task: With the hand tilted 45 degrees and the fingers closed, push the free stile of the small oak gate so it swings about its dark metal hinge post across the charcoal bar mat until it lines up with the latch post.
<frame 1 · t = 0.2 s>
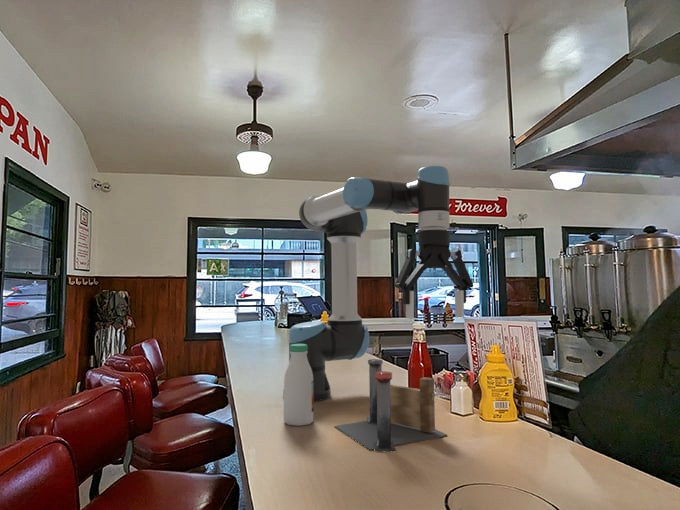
hand: (435, 317, 109), 28 cm above the countertop, tool pointing down, fingers open, 13 cm apart
gate: (407, 400, 112), point 7 cm above the countertop, hinge at 50.0°
bar mat: (389, 431, 110), on the countertop
hinge post: (375, 421, 117), resting on bar mat
milk bottle: (298, 422, 118), on the countertop
latch post: (384, 447, 99), resting on bar mat
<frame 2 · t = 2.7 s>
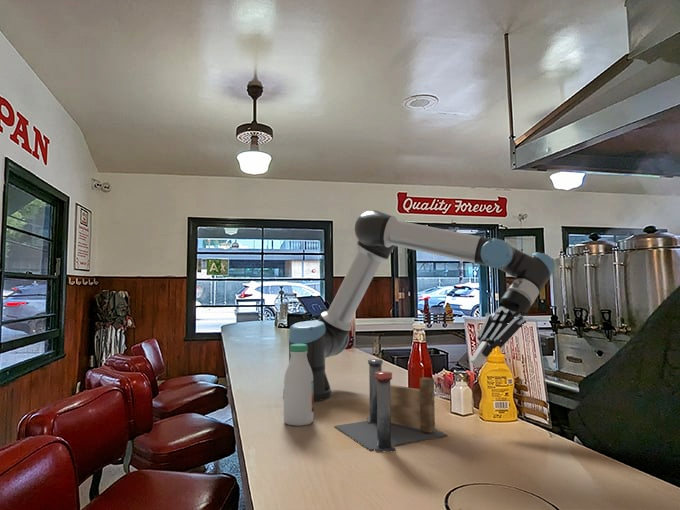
hand: (474, 363, 117), 15 cm above the countertop, tool tilted 45°, fingers closed
nothing on the countertop moved.
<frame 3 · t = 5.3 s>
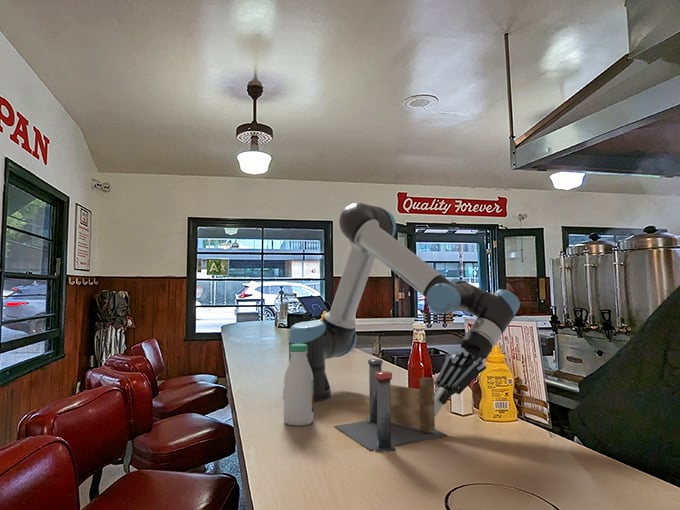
hand: (430, 412, 111), 4 cm above the countertop, tool tilted 45°, fingers closed
gate: (406, 400, 112), point 7 cm above the countertop, hinge at 49.7°, touching gripper
everything else where it was.
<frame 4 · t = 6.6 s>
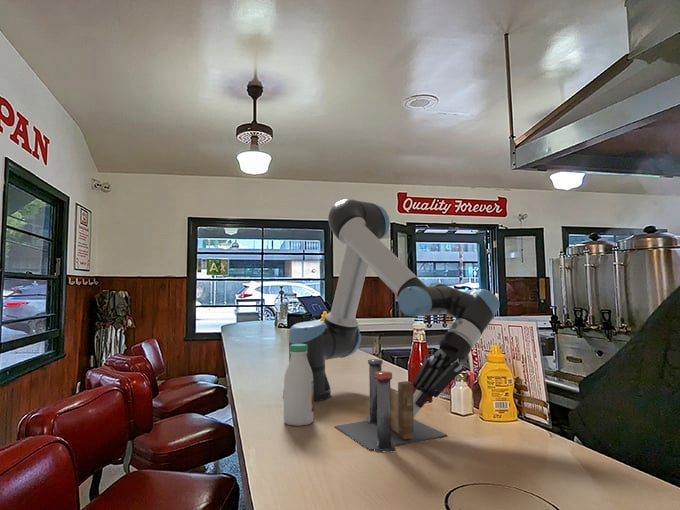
hand: (406, 415, 107), 5 cm above the countertop, tool tilted 45°, fingers closed
gate: (393, 403, 109), point 7 cm above the countertop, hinge at 21.9°, touching gripper
everything else where it was.
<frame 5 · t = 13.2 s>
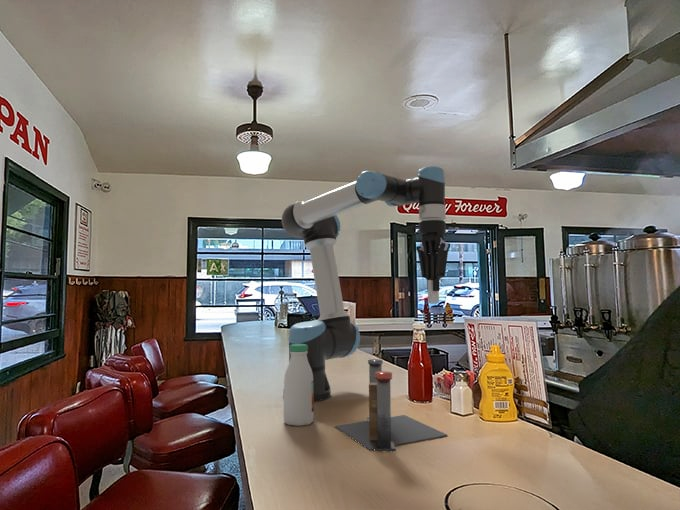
hand: (433, 302, 129), 30 cm above the countertop, tool pointing down, fingers closed
gate: (375, 404, 108), point 7 cm above the countertop, hinge at -6.4°
everything else where it was.
at the end: gate at -6° (first picture: +50°) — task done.
